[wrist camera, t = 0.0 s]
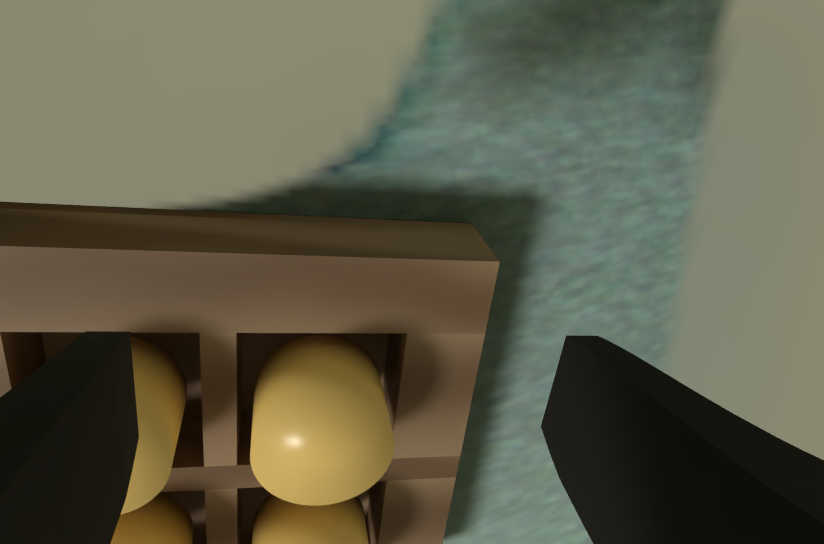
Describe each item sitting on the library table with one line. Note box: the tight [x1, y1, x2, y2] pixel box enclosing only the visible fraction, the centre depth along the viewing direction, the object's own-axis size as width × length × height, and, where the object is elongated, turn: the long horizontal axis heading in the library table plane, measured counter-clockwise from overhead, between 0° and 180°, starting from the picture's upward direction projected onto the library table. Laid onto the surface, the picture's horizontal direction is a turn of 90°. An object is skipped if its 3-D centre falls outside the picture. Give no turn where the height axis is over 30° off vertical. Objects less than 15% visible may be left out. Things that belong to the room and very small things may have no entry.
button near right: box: [250, 335, 395, 506], centre depth 18 cm, size 4×4×3 cm
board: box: [0, 202, 500, 544], centre depth 21 cm, size 16×16×3 cm
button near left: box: [59, 336, 187, 515], centre depth 17 cm, size 4×4×3 cm
